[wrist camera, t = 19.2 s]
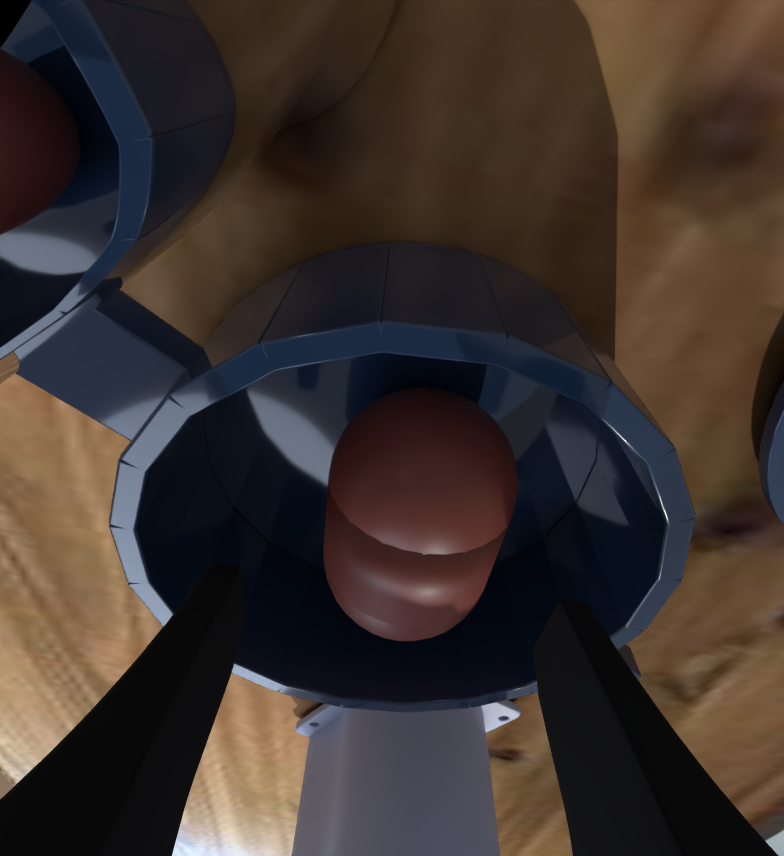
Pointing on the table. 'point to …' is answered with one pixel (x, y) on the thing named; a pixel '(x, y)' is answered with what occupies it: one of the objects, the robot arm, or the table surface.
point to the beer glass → (143, 132)
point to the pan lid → (773, 457)
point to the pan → (316, 440)
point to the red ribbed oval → (416, 511)
